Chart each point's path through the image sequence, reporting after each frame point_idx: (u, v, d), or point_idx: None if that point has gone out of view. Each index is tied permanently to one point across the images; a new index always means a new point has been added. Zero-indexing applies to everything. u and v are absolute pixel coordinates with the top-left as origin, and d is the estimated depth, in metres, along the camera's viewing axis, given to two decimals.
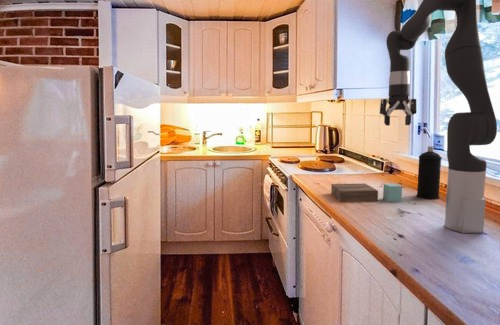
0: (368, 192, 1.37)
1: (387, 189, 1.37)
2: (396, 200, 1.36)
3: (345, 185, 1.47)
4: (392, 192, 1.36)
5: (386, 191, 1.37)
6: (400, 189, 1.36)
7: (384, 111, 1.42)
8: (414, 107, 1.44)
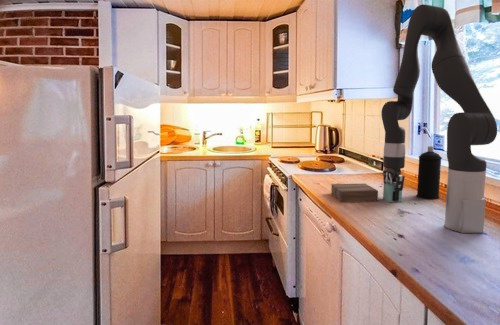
0: (368, 192, 1.37)
1: (387, 189, 1.36)
2: None
3: (345, 185, 1.47)
4: (392, 191, 1.36)
5: (386, 190, 1.37)
6: None
7: None
8: None
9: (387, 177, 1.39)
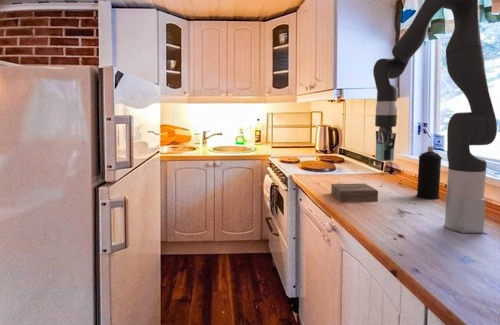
0: (368, 192, 1.37)
1: (379, 148, 1.36)
2: None
3: (345, 185, 1.47)
4: None
5: (378, 150, 1.37)
6: None
7: None
8: None
9: (379, 137, 1.38)
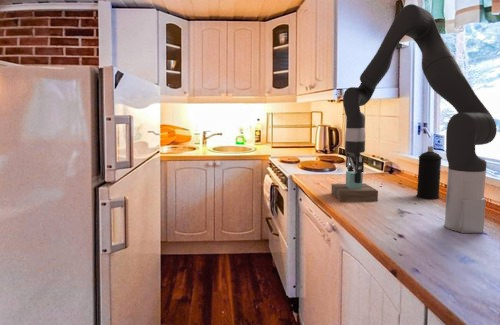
0: (368, 192, 1.37)
1: (349, 176, 1.41)
2: (357, 187, 1.41)
3: (345, 185, 1.47)
4: (353, 179, 1.41)
5: (348, 178, 1.42)
6: (361, 176, 1.41)
7: None
8: None
9: (348, 161, 1.44)
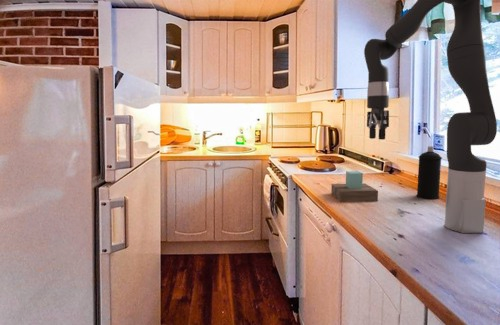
0: (368, 192, 1.37)
1: (349, 176, 1.41)
2: (357, 187, 1.41)
3: (345, 185, 1.47)
4: (353, 179, 1.41)
5: (348, 178, 1.42)
6: (361, 176, 1.41)
7: None
8: None
9: (371, 118, 1.37)
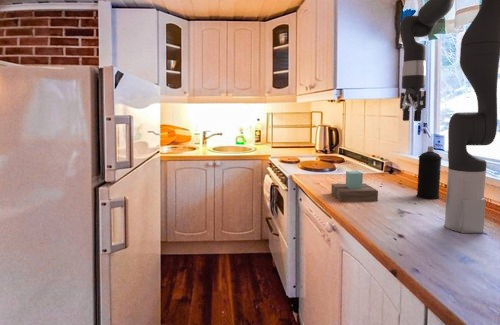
0: (368, 192, 1.37)
1: (349, 176, 1.41)
2: (357, 187, 1.41)
3: (345, 185, 1.47)
4: (353, 179, 1.41)
5: (348, 178, 1.42)
6: (361, 176, 1.41)
7: None
8: None
9: (405, 100, 1.31)
